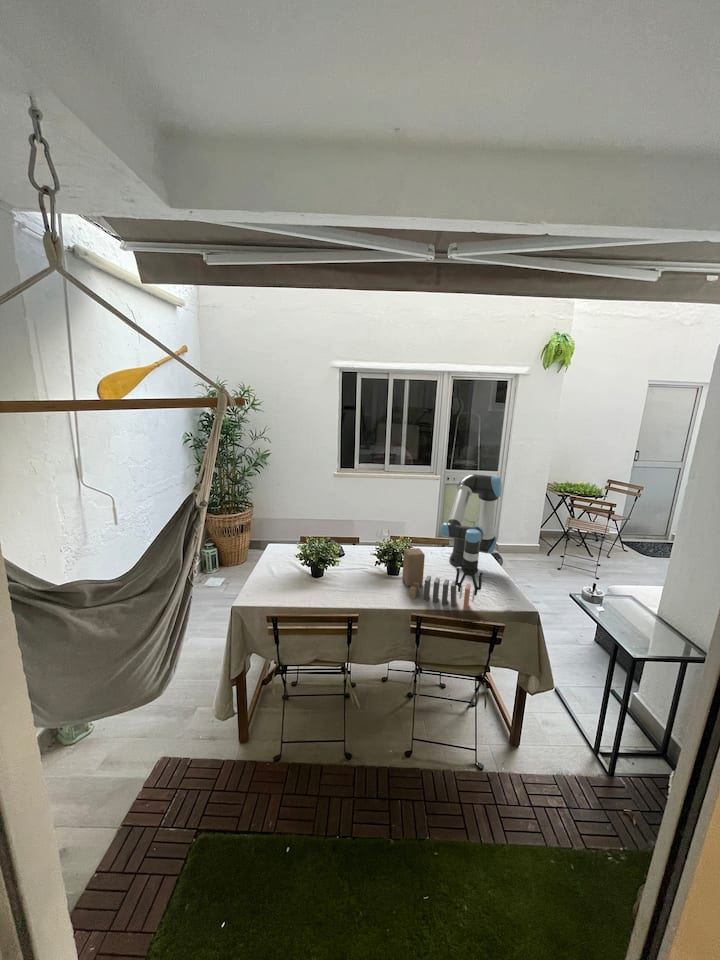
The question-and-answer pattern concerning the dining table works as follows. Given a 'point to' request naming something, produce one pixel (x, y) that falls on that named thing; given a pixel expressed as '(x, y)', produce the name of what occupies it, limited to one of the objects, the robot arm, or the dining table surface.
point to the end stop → (414, 590)
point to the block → (413, 566)
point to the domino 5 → (466, 596)
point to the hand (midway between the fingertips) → (466, 598)
